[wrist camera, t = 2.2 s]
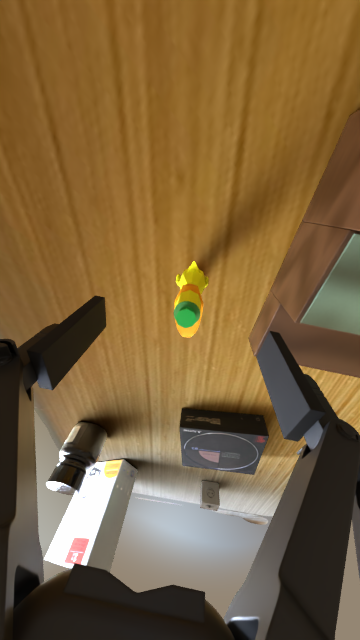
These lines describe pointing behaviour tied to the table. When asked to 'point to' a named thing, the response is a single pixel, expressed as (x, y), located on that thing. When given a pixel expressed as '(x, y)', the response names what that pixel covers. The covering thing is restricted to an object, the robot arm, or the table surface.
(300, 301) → the display shelf
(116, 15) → the table surface
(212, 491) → the dice cube
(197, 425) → the portable cd player
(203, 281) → the toy figure
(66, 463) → the ink bottle
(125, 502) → the hard drive box
